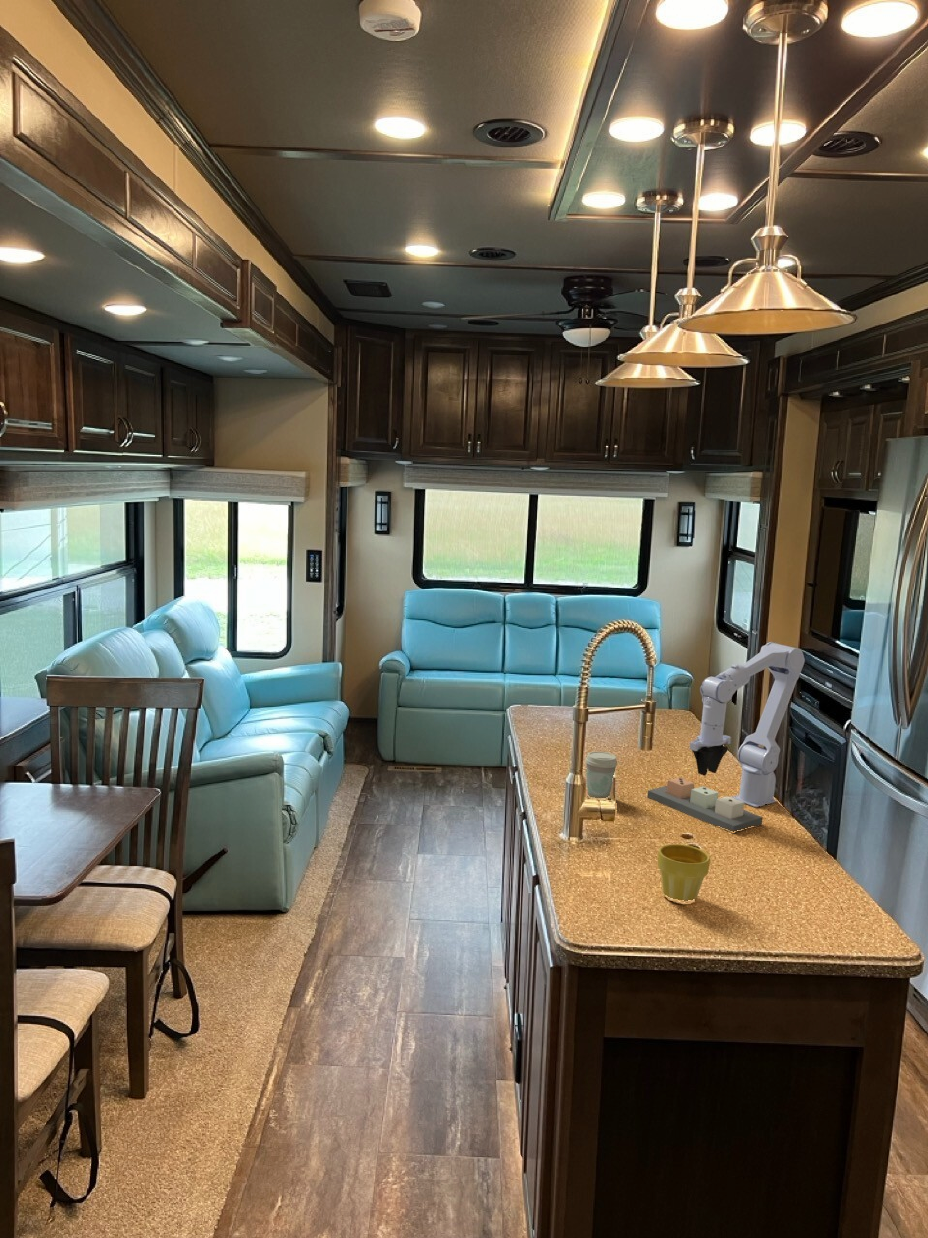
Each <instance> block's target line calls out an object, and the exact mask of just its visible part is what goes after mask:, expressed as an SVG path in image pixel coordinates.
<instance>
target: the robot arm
mask: <svg viewBox="0 0 928 1238" xmlns="http://www.w3.org/2000/svg"><path fill="white" fill-rule="evenodd" d="M805 661H806V659H805V656H804V652H803V651H802V649H800V648H799V647H792V646H790V645H789V646H788V645H784V644H780V643H776V642H774V641H770V642H768V643H766V644H765V645H762V646H761V647H760V651H759V653H757V654H756V655H754V656H753V657H751V659H749V660H747V661H746V662H745V663H744V664H740V663H739V664H738V663H737V664H736V663H733V664H732V665H730V667H729V668H727V669H725V671H722V672H720V673H719V674H718V675H716V676H708V677H706V678H704V680H703V681H702V682H701V683H702V684H701V686H700V687H699V691H700V692H699V693H700V695H701V702H702V704H703V705H702V715H701V724H700V733H699V735H696V739H695V740H692V741H690V742H689V750H691V752H692V753H693V756H694V758H695V762H696V767H697V774H699V775H701V776H707V773H708V772H711V773H713V774H716V773H717V772H718V769H719V767H720V764H721V761H722V759H723V758H724V757H725V755H726V753H728V750H729V749H728V747H727V746H725V744H726V745H731V740H732V737H731V736H729V735H726V734H724V730H725V729H724V728H725V719H726V710H727V702H730V700H732V697H733V695H734V694H735V693H736V691H737V690H739V689H741V688H742V687H744V686H745V685H747V684H748V683H749V682H750V681H751V680H750V679H751V676H754V675H755V674H758V673H759V672H762V671H763V670H765V669H768V672H770V673H771V674H772V676H773V678H774V682H773V684H772V687H771V690H770V693H769V695H768V698H767V701H766V703H765V705H764V708H763V710H762V714H761V716H760V719H759V721H758V724H757V727H756V730H755V732H754V733H751V734H749V735H747V736H746V737H745V738H744V741H743V743H742V744H741V745H740V747H739V748H738V751H737V761H738V762H739V764H740V767H741V768H742V770H741V779H740V785H739V786H740V787H739V794H737V795H733V796H731V797H732V798H735V799H737V800H740V801H742V802H744V804H745V805H748V806H751V807H753V808H760V807H764V806H766V805H765V804H767V805H769V804H774V803H776V802H777V800H776V799H774V798H775V797H774V796H775V790H776V783H777V782H776V780H777V779H776V774H775V772H774V771H775V770H776V769H777V767H778V764H779V757H780V752H781V748H780V746H779V745H778V743H777V742H776V738H777V734H778V731H779V729H780V727H781V724H782V721H783V719H784V716H785V713H786V711H787V708H788V705H789V704H790V703H789V702H790V699H791V697H792V694H793V692H794V689H795V687H796V683H797V681H798V680H799V677H800V675H801V672H802V670H803V667H804V664H805ZM775 800H776V801H775ZM759 806H760V807H759Z"/></svg>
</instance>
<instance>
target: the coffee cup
mask: <svg viewBox="0 0 928 1238" xmlns="http://www.w3.org/2000/svg"><path fill="white" fill-rule="evenodd" d="M585 763H586V765H585V767H586V769H585V770H586V789H587V788H588V795H589V796H590V797H595V798H606V797H608V796H609V797H610V796H611V791H612V787H613V782H612V778H613V775H614V776H615V773H616V768H617V766H618V760H617V756H616V755H615V754H613V753H611V752H605V751H597V750H596V751H590V752H588V754H587V756H586V758H585ZM613 779H614V778H613Z"/></svg>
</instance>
